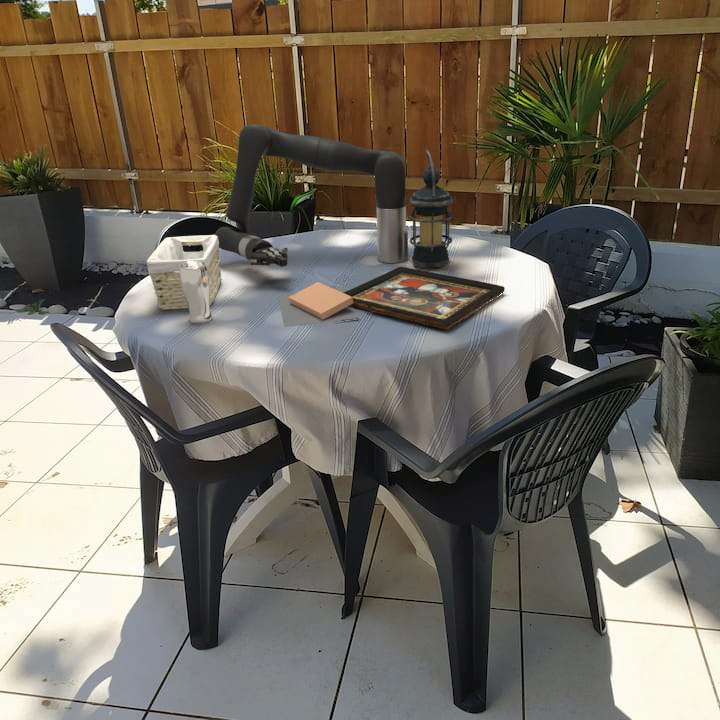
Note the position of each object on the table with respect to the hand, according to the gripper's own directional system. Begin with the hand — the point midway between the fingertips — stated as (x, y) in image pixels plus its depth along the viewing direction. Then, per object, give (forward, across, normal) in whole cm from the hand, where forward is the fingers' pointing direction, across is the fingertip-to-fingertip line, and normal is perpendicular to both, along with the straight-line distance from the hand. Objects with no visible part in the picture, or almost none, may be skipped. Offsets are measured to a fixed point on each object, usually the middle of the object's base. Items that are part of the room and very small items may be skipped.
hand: (284, 263), depth 185 cm
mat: (+16, 0, +9) cm, 18 cm away
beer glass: (+3, -28, +9) cm, 29 cm away
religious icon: (+31, +24, +8) cm, 40 cm away
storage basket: (-16, -22, +9) cm, 29 cm away
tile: (+10, 0, +6) cm, 12 cm away
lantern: (+10, +46, +9) cm, 48 cm away
